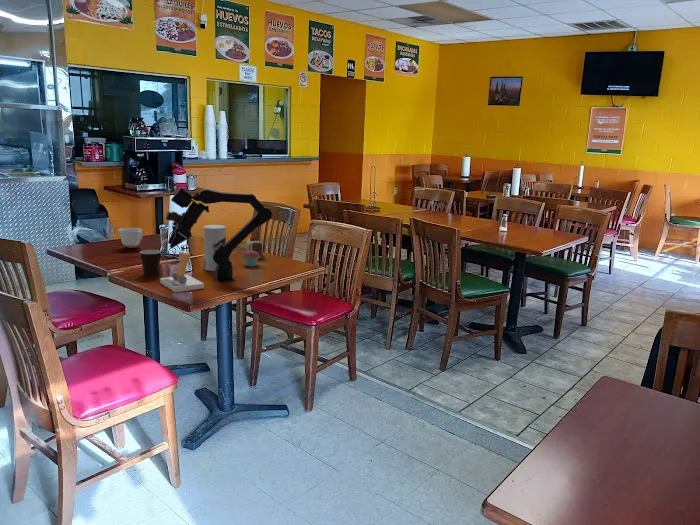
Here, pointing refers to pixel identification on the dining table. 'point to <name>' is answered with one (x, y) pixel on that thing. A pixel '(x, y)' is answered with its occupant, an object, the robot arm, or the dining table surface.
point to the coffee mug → (151, 262)
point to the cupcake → (251, 257)
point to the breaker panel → (181, 283)
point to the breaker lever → (182, 264)
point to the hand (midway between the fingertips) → (169, 245)
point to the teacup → (130, 236)
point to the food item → (254, 245)
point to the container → (212, 243)
